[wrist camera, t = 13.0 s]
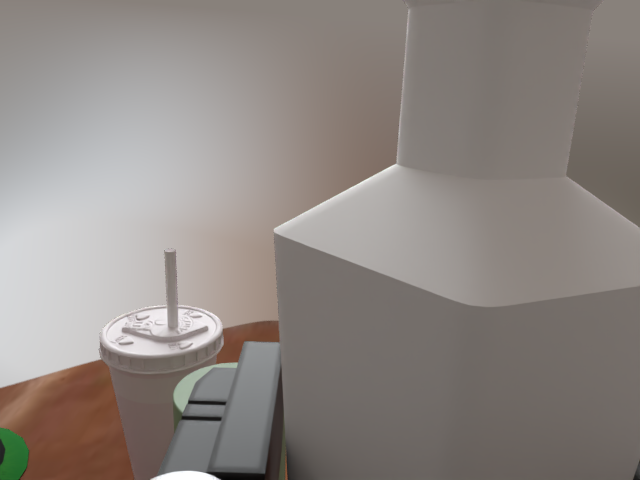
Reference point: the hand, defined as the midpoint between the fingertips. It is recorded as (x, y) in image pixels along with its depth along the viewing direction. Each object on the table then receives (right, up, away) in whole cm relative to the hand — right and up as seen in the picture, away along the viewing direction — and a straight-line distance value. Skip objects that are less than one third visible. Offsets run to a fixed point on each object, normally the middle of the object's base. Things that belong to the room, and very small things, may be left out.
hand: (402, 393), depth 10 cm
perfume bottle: (0, -9, 0) cm, 9 cm away
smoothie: (-10, -11, +22) cm, 27 cm away
